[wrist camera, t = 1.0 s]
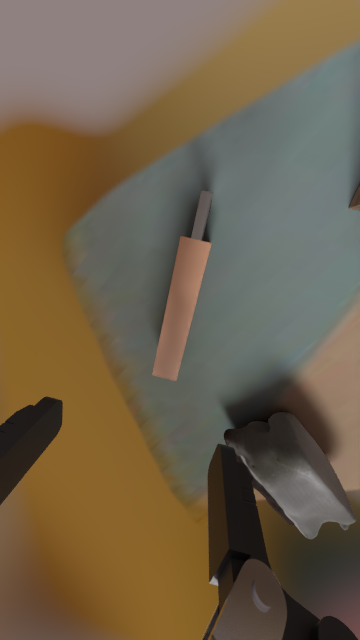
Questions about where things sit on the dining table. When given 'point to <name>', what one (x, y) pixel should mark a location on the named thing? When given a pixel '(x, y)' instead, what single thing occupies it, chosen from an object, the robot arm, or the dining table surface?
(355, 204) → the slotted tan block
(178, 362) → the bed rail
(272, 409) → the dining table surface
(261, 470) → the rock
